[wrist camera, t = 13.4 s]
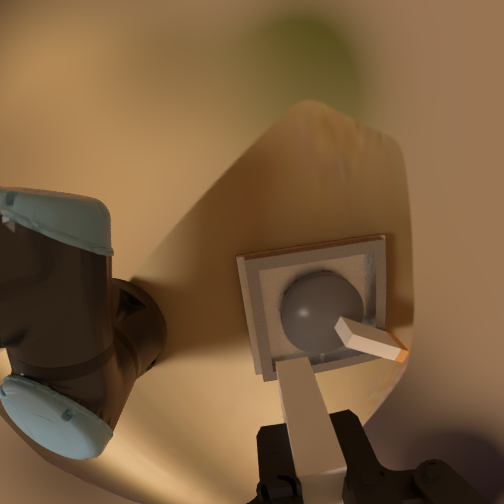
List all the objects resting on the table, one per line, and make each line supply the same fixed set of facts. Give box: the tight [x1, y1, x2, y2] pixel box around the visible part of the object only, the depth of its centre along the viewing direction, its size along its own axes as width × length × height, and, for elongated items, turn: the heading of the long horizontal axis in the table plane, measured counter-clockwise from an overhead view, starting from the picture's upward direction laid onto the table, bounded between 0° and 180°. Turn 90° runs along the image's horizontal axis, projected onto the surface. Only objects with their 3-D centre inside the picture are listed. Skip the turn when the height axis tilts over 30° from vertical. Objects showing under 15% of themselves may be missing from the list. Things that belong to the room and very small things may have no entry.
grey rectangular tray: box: [236, 234, 386, 382], centre depth 40 cm, size 20×18×3 cm
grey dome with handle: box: [280, 271, 409, 362], centre depth 37 cm, size 17×11×7 cm, turn 68°
